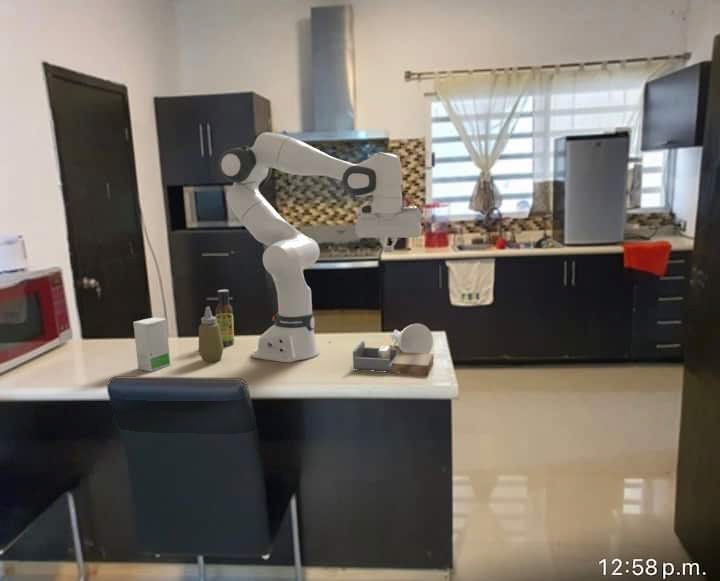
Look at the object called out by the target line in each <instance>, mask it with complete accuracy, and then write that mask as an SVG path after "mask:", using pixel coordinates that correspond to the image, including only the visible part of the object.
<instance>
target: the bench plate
mask: <svg viewBox="0 0 720 581" xmlns="http://www.w3.org/2000/svg"><path fill="white" fill-rule="evenodd" d="M396 354H397V356H396V357H395V359H394V360H393V362H392V372H400V373H399V374H403V373H410V374H409V375H418V376H419V375H420V376H428V375H429V374H430V372H431V370H432V367H433V364H434V354H433V353H429V354H424V353H406V352H402V351H399V352H398V353H396Z"/></svg>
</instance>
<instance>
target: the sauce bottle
mask: <svg viewBox="0 0 720 581" xmlns="http://www.w3.org/2000/svg"><path fill="white" fill-rule="evenodd" d="M229 296H230V290H229V289H226V288H225V289H219V290H217V305H216V307H215V309H214V310H215V316H214V317H216V323H218V324H219V325H220V331H221V336H222V341H223V347H228V346H232V345H234V344H235V340H234V339H235V330H234V329H235V328H234V327H235V326H234V313H233V311H234V310H233V307H232V305H231V303H230V298H229Z"/></svg>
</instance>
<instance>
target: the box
mask: <svg viewBox="0 0 720 581" xmlns="http://www.w3.org/2000/svg"><path fill="white" fill-rule="evenodd" d="M380 348H381V347H370V346H369V347H368V346H366V343H365V340H362V341H361V342H360V343H359V344H358V345H357V346H356V348H354V349H353V351H352V364H353V368H352V369H355V370H354V371H358V370H374V371H386V372H385V373H388V372H392V362H393V360H394V359H395V357H396V356H397V354H398V353H397V348H390V359H380V358H379V352H378V351H379V349H380ZM356 369H357V370H356Z"/></svg>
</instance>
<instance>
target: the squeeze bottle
mask: <svg viewBox="0 0 720 581" xmlns="http://www.w3.org/2000/svg"><path fill="white" fill-rule="evenodd" d="M204 310H205V311H204V316H203V317H201V319H200V320H201V324H200V325H199V326H198V353H199V355H200V357H201V360H202V361H203V362H205V363H214V362H218V361H220V360H222V357H223V353H224V347H225V346H223V341H222V336H221V331H220V325H219V324H218V323H216V317H215V316H213V313H212V311H211V308H210V306H206V307H205V309H204Z"/></svg>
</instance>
